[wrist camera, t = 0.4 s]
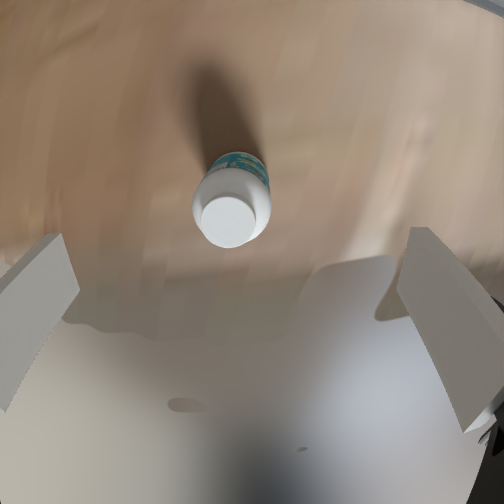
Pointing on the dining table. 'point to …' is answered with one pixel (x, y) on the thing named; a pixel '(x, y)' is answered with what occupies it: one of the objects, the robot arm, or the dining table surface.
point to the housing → (490, 5)
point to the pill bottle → (233, 200)
